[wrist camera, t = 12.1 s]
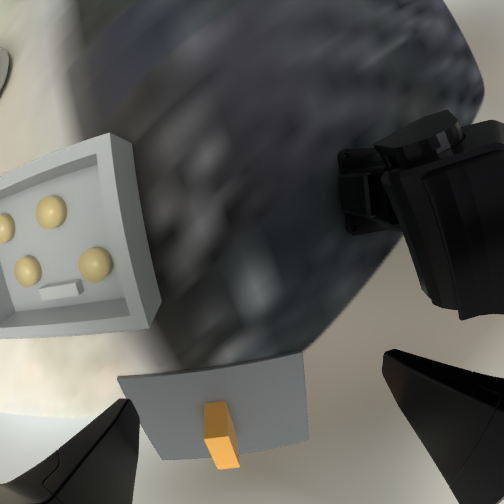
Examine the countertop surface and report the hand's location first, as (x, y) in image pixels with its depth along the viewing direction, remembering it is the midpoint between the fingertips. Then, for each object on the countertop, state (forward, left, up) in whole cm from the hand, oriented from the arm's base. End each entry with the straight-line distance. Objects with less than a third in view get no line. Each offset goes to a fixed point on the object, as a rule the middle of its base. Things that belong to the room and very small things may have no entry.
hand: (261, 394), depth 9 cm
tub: (+14, -5, -13) cm, 20 cm away
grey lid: (+4, +14, -14) cm, 20 cm away
